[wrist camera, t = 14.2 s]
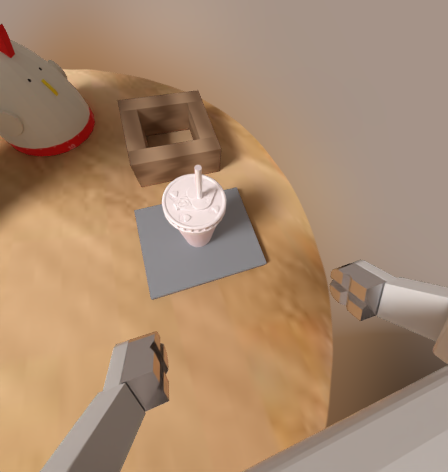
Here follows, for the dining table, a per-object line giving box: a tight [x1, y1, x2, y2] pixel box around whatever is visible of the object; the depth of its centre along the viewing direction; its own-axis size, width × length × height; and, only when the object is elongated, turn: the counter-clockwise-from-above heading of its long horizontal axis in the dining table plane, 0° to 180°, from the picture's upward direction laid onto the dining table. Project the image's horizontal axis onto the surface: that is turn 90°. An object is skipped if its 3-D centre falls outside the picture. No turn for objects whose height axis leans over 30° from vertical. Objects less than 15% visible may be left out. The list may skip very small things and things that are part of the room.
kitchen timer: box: [0, 24, 95, 156], centre depth 27 cm, size 14×14×15 cm
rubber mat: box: [134, 187, 266, 300], centre depth 29 cm, size 16×13×1 cm
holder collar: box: [118, 91, 221, 187], centre depth 32 cm, size 13×13×5 cm
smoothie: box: [162, 165, 226, 247], centre depth 22 cm, size 6×6×14 cm
